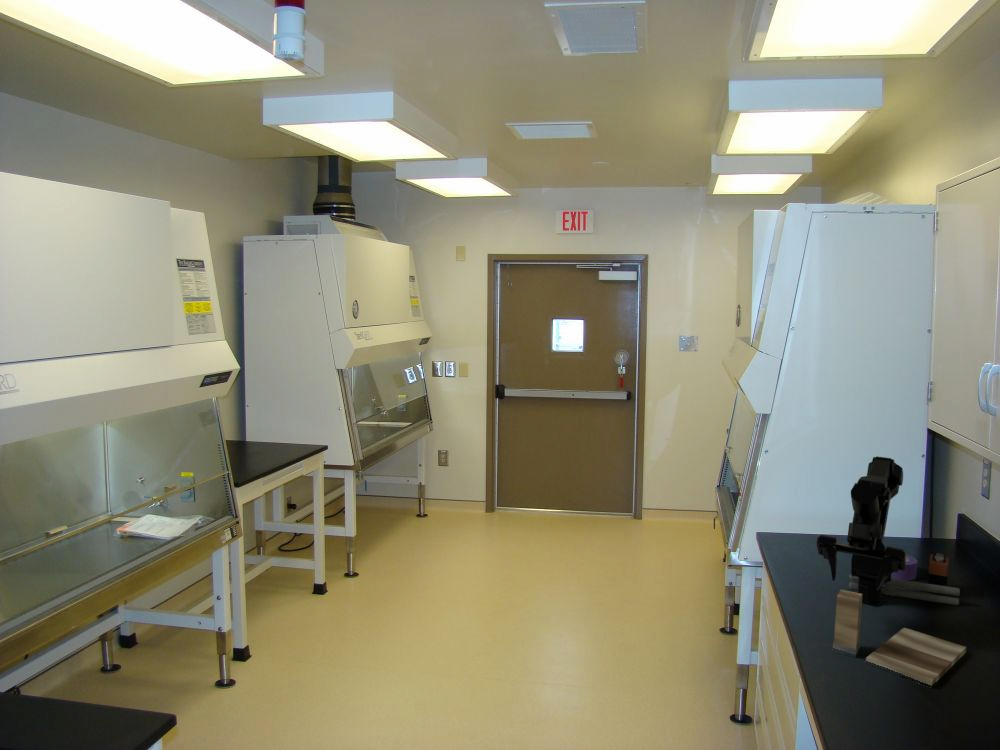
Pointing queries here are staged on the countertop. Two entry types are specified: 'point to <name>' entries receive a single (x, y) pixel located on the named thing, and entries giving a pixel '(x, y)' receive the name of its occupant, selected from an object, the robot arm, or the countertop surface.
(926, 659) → the subfloor panel
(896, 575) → the tape roll
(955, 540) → the countertop surface
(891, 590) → the metal rod assembly
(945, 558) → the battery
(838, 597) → the tall wooden post
